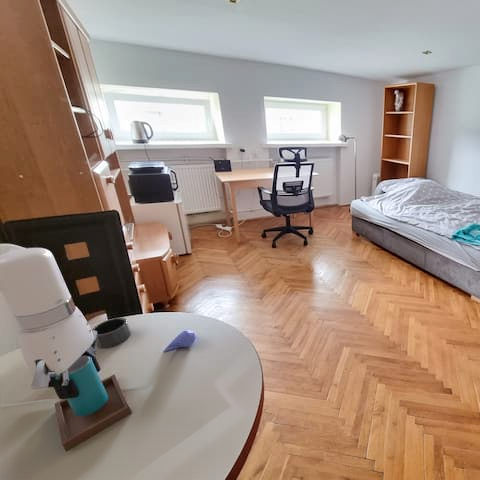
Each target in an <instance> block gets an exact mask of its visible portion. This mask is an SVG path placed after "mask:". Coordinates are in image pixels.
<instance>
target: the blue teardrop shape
mask: <svg viewBox="0 0 480 480" xmlns="http://www.w3.org/2000/svg"><path fill="white" fill-rule="evenodd" d="M196 339H197V336H196V334H195V332H194V331H193V330H190V329H188V330H183V331H181V332H180V333H179V334H178V335H177V336H175V338H174V339H173V340H172V341H170V343H169V344H168V345H167V346H166V347H165V348H164V349H163V351H162V352H163V353H165V352H168V351H172V350H175V349H178V348H187V347H191V346H192V345H193V344H194V343H195V341H196Z"/></svg>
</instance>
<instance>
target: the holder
mask: <svg viewBox="0 0 480 480" xmlns="http://www.w3.org/2000/svg"><path fill="white" fill-rule="evenodd" d="M91 330H95V331H97V336H96V340H95V341H96V344H95V347H97V348H98V349H110V348H114V347H116V346H119V345H120V344H122V343H124V342H126V341H127V340H128V339H130V337H131V335H132V330H131V327H130V325H129V322H128V320H127V318H125V317H114V318H110V319H107V320H105V321H102V322H100V323H98V324H97V325H95V326H94V327H93V328H92V329H91Z"/></svg>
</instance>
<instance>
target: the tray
mask: <svg viewBox="0 0 480 480" xmlns="http://www.w3.org/2000/svg"><path fill="white" fill-rule="evenodd" d="M101 381H102V384H103V386H104V388H105V390H106V393H107V395H108V400H107V401H106V403H105V404H104V405H103V406H102V407H101V408H99V409H98V410H96V411H95V412H93V413H91V414H88V415H85V416H76V415H75V414H74V412H73V410H72V408H71V406H70V404H69V402H68V400H67V399H60V400H58V401H57V402H54V410H55V415H56V421H57V425H58V429H59V435H60V440H61V445H62V447H63V449H64V450H65V452H67V451H70V450H71V449H73V448H74V447H76V446H79V445H80V444H82V443H84V442H85V441H86V440H88V439H90V438H92V437H94V436H95V435H97V434H99V433H100V432H102V431H104V430H106V429H107V428H109V427H111V426H113V425H114V424H116V423H118V422H119V421H121V420H123V419H125V418H127V417H128V416H130V415H131V414H133V411H132V409H131V406H130V404H129V402H128V399H127V398H126V396H125V393H124V391H123V389H122V387H121V384H120V382H119V380H118V378H117V375H116V374H112V375H110V376H108V377H105V378H104V379H101Z"/></svg>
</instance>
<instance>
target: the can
mask: <svg viewBox="0 0 480 480" xmlns="http://www.w3.org/2000/svg"><path fill="white" fill-rule="evenodd" d="M68 373H69V381H70V380H73V381H74V383H75V385H76V387H77V389H78V391H79V396H78V397H76V398H69V399H67V400H68V402H69V404H70V406H71V408H72V410H73V412H74V414H75V415H76V416H85V415H88V414H91V413H93V412H95V411H96V410H98V409H99V408H101V407H102V406H103V405H104V404H105V403H106V401H107V400H108V395H107V393H106V390H105V388H104V386H103V384H102V379H101V376H100V375H99V372H97V370H96V368H95V366H94V363H93V361H92V359H91V357H89V356H80V357H79V358H78V359H77V360H76V361H75V362H74V363H73V364H72V365H71V366H70V367H69V368H68ZM56 379H60V374H56Z"/></svg>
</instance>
